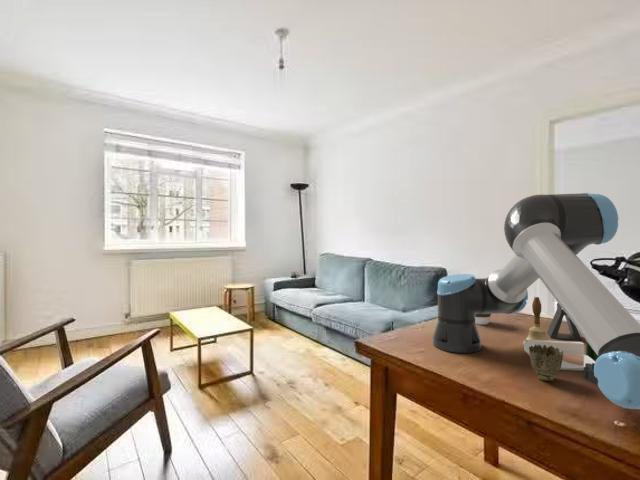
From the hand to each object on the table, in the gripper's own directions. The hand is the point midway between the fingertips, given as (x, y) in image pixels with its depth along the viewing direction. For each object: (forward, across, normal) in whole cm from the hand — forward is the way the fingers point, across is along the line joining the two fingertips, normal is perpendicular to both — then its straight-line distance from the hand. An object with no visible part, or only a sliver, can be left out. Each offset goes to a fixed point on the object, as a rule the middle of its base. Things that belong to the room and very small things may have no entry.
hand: (620, 363), depth 79 cm
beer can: (+10, 0, -8) cm, 13 cm away
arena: (+22, -4, -8) cm, 23 cm away
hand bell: (+34, -7, -8) cm, 36 cm away
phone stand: (+46, +4, -8) cm, 46 cm away
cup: (+7, -13, -8) cm, 17 cm away
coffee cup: (+58, -21, -8) cm, 63 cm away
